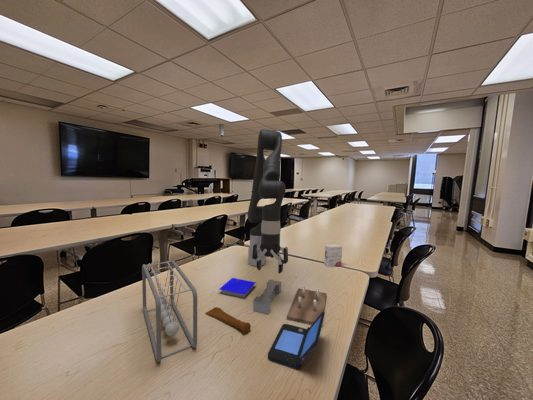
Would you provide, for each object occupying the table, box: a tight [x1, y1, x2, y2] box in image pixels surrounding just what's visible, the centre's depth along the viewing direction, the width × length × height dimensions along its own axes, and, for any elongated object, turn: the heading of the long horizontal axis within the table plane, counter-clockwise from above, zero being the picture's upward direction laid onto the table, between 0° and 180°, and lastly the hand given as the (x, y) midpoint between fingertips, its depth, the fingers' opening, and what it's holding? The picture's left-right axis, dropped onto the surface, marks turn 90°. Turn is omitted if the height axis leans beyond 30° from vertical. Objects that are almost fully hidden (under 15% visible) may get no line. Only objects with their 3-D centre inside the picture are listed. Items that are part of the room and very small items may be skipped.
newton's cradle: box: [141, 259, 198, 363], centre depth 73 cm, size 30×10×18 cm, turn 35°
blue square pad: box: [218, 277, 257, 299], centre depth 100 cm, size 12×12×5 cm
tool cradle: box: [286, 286, 327, 326], centre depth 88 cm, size 12×22×5 cm, turn 161°
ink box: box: [323, 243, 343, 267], centre depth 132 cm, size 9×5×12 cm, turn 103°
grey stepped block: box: [252, 279, 282, 315], centre depth 93 cm, size 6×19×4 cm, turn 161°
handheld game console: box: [267, 310, 326, 371], centre depth 66 cm, size 16×13×9 cm
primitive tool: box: [204, 306, 252, 335], centre depth 79 cm, size 19×6×4 cm, turn 53°
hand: (269, 271), depth 92 cm, fingers open, 8 cm apart
